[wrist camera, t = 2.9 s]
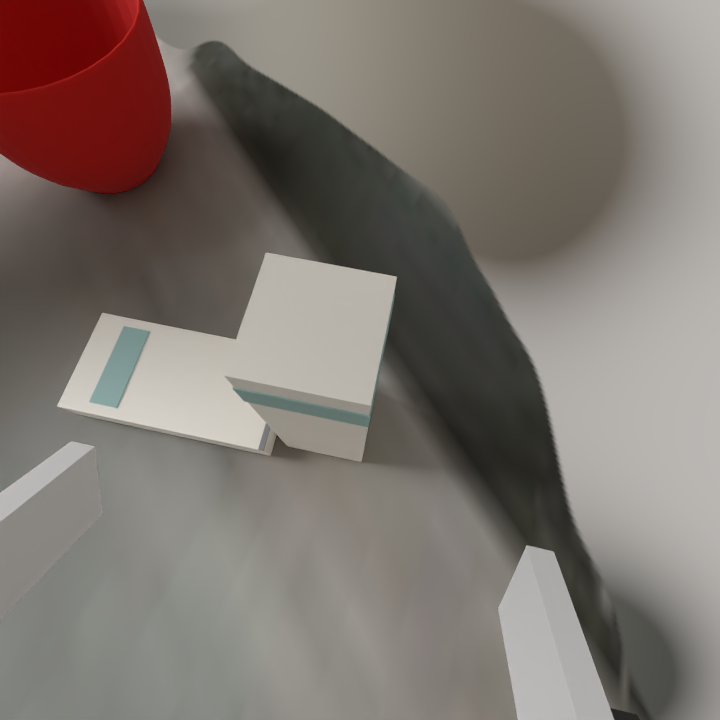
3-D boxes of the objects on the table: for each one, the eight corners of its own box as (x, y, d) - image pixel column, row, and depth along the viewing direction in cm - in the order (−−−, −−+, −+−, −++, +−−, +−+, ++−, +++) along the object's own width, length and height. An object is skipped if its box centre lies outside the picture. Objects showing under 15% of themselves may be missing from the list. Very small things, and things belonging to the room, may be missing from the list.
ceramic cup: (230, 78, 36) (187, -78, 26) (174, 238, 30) (92, 109, 20) (85, 62, 36) (-8, -97, 27) (0, 217, 30) (-158, 82, 21)
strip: (78, 414, 25) (55, 405, 23) (119, 326, 27) (101, 311, 25) (270, 456, 24) (263, 450, 22) (297, 362, 26) (292, 350, 24)
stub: (286, 446, 24) (221, 376, 12) (305, 375, 26) (265, 250, 14) (362, 463, 24) (371, 407, 12) (377, 389, 26) (398, 275, 14)
